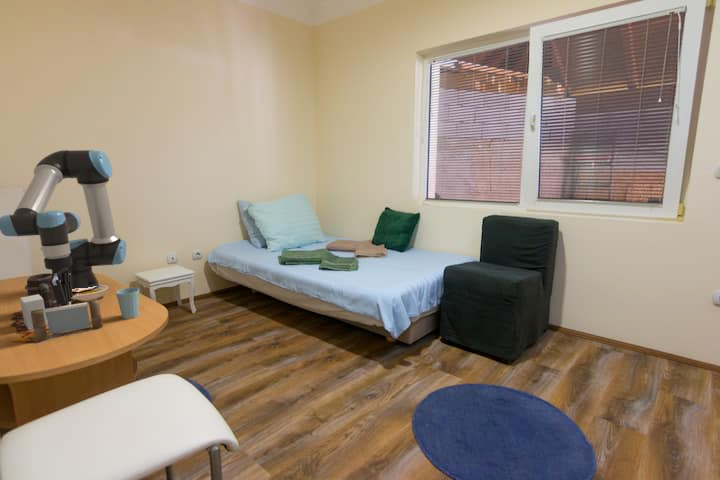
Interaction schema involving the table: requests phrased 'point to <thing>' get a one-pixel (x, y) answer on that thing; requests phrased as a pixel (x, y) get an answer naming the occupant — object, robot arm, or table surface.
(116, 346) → the table surface
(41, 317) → the posts
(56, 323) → the white thick panel
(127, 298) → the cup
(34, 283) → the mug
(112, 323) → the table surface
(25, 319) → the small box
